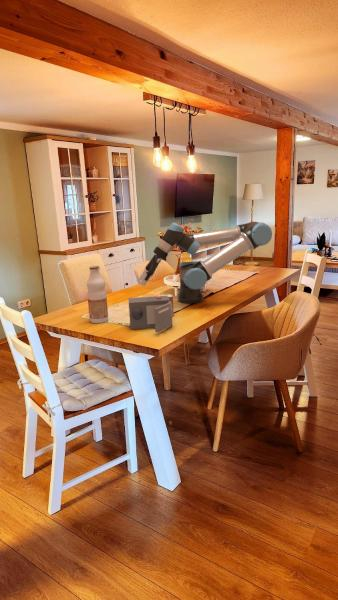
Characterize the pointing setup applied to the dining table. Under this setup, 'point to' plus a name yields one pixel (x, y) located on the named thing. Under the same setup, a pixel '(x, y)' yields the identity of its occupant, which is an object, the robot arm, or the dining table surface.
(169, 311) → the side door
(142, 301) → the camera block
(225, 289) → the dining table surface
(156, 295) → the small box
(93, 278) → the fruit juice
